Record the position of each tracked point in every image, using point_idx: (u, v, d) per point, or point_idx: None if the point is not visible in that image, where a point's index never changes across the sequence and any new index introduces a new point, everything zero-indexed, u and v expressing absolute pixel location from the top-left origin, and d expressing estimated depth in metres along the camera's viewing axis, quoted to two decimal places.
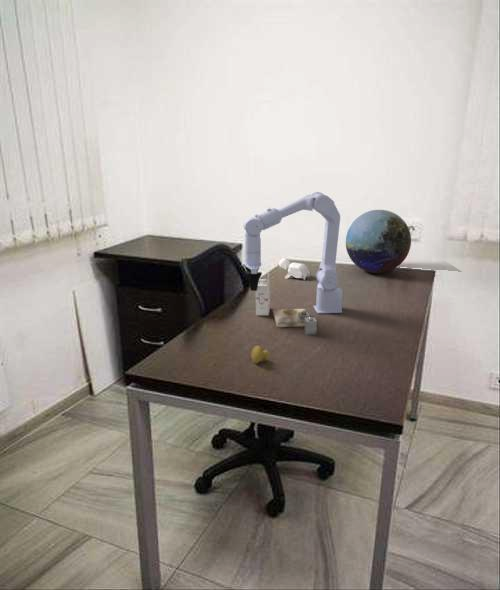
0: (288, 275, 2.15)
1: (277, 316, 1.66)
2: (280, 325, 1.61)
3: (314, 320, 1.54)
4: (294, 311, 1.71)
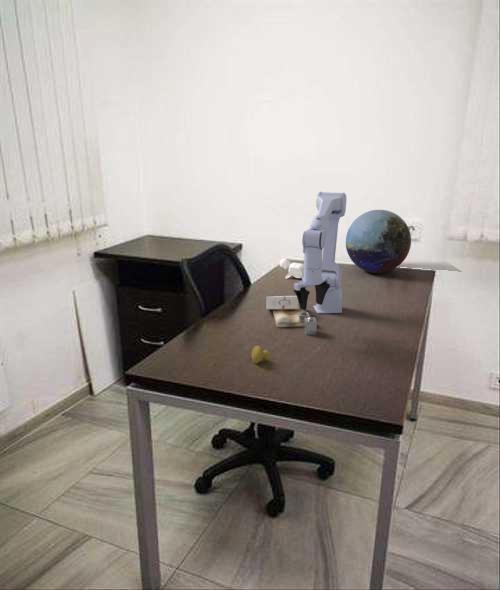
0: (288, 275, 2.15)
1: (277, 316, 1.66)
2: (280, 325, 1.61)
3: (314, 320, 1.54)
4: (294, 311, 1.71)
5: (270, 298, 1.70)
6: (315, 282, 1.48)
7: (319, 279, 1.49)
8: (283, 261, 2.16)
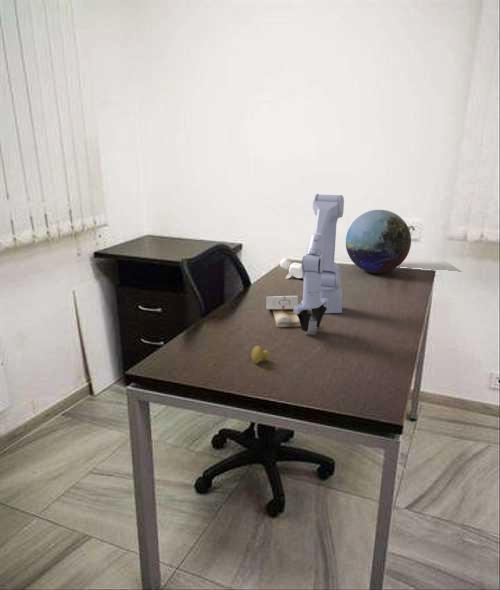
0: (289, 275, 2.15)
1: (277, 316, 1.66)
2: (280, 325, 1.61)
3: (314, 320, 1.54)
4: None
5: (270, 298, 1.70)
6: (314, 305, 1.51)
7: (318, 302, 1.51)
8: (283, 261, 2.16)
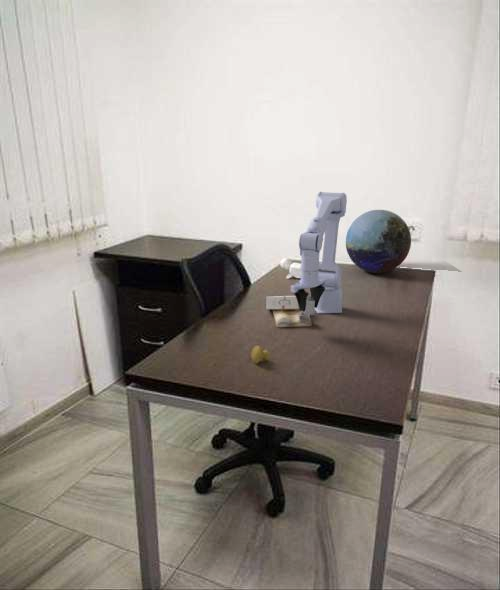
0: (289, 275, 2.15)
1: (277, 316, 1.66)
2: (280, 325, 1.61)
3: (312, 300, 1.53)
4: (294, 311, 1.71)
5: (270, 298, 1.70)
6: (312, 284, 1.49)
7: (316, 281, 1.50)
8: (284, 261, 2.16)
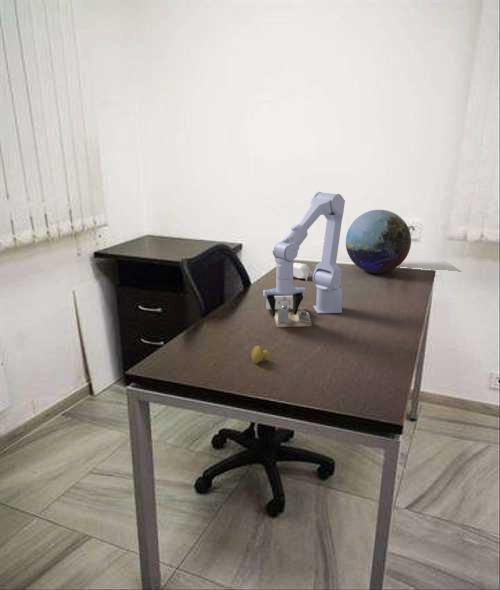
0: None
1: (277, 316, 1.66)
2: (280, 325, 1.61)
3: (286, 308, 1.59)
4: None
5: None
6: (282, 291, 1.56)
7: (287, 289, 1.56)
8: None
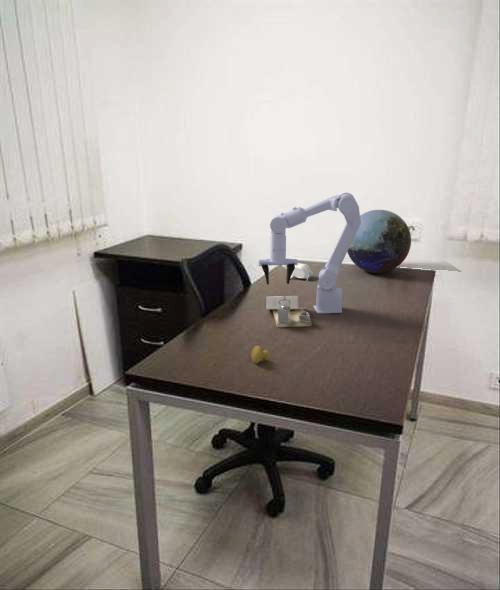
0: (291, 275, 2.14)
1: (277, 316, 1.66)
2: (280, 325, 1.61)
3: (286, 308, 1.59)
4: (294, 311, 1.71)
5: (270, 298, 1.70)
6: (275, 261, 1.71)
7: (280, 259, 1.70)
8: None
